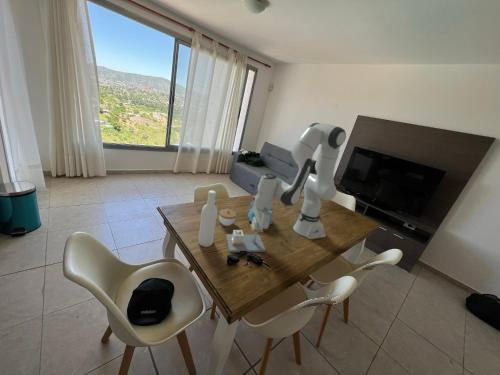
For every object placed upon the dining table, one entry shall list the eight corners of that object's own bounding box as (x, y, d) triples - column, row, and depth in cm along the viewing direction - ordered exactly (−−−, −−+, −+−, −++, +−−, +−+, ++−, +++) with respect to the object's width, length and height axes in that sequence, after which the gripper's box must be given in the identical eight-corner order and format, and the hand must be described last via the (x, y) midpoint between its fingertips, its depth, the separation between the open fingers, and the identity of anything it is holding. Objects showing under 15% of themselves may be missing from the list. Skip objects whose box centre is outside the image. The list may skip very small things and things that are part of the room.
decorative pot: (271, 230, 134) (276, 212, 129) (246, 225, 133) (251, 207, 128) (268, 217, 150) (273, 200, 145) (247, 213, 148) (250, 196, 143)
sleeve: (259, 226, 117) (262, 217, 115) (262, 232, 112) (265, 223, 110) (250, 225, 115) (252, 216, 113) (252, 232, 110) (255, 222, 108)
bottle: (194, 242, 108) (200, 191, 97) (203, 235, 115) (210, 187, 104) (207, 249, 106) (214, 197, 95) (215, 241, 112) (223, 192, 102)
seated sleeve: (240, 238, 117) (242, 229, 115) (242, 245, 112) (244, 236, 110) (230, 238, 116) (232, 229, 113) (232, 245, 110) (234, 236, 108)
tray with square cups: (258, 236, 125) (260, 225, 122) (265, 251, 112) (268, 240, 110) (225, 235, 119) (227, 224, 116) (229, 252, 107) (231, 240, 104)
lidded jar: (214, 223, 129) (216, 210, 125) (224, 217, 138) (226, 204, 134) (228, 230, 125) (230, 217, 121) (237, 223, 134) (240, 211, 130)
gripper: (275, 214, 100) (268, 237, 104) (262, 195, 118) (257, 216, 123) (263, 213, 98) (256, 237, 103) (252, 194, 116) (247, 216, 121)
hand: (257, 225), depth 113 cm, fingers closed on sleeve, 5 cm apart
